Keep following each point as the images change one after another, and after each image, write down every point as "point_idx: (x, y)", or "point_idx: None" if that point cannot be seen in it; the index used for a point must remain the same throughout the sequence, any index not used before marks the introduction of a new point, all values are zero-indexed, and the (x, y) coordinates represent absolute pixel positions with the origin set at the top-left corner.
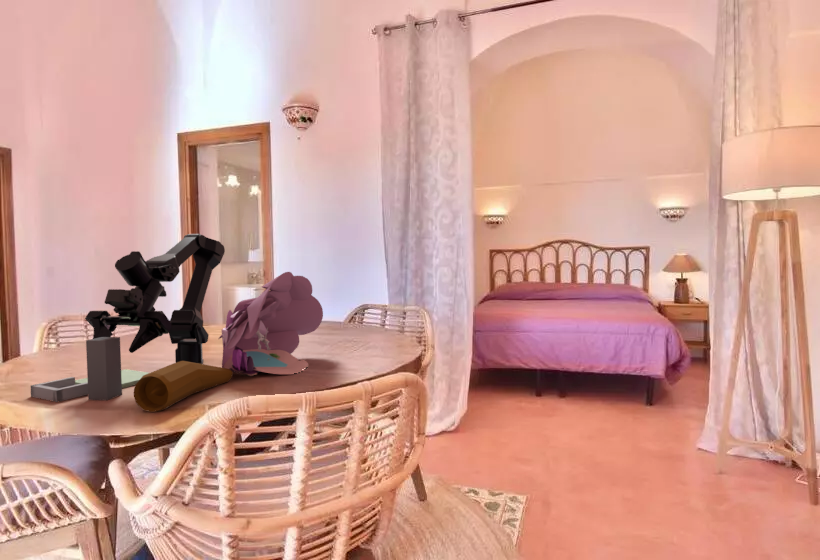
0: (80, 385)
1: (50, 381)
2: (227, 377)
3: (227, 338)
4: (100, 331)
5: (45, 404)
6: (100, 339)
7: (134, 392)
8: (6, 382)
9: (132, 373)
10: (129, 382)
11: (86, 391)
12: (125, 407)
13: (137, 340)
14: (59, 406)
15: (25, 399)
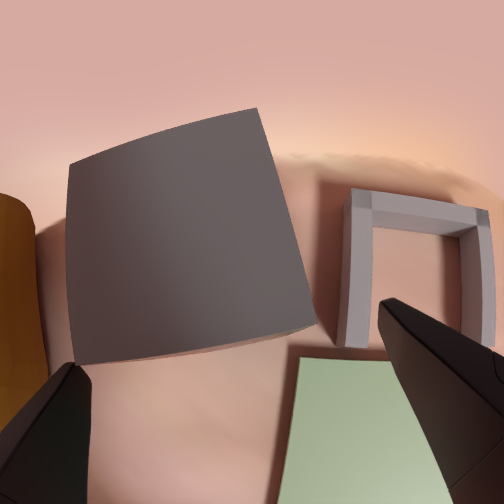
0: (349, 273)
1: (492, 268)
2: None
3: None
4: (496, 430)
5: (350, 181)
6: (156, 186)
7: (17, 202)
8: None
9: None
10: (287, 449)
11: (341, 301)
12: None
13: (18, 417)
14: (286, 180)
15: (453, 200)
